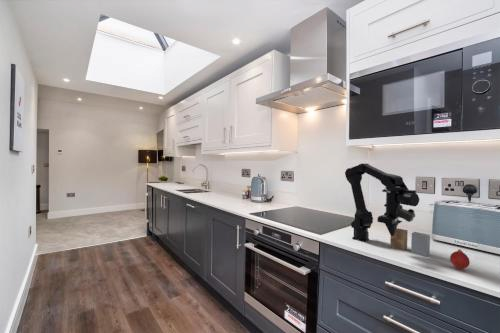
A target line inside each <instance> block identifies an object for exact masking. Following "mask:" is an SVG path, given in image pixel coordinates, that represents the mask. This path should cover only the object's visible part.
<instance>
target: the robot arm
mask: <svg viewBox="0 0 500 333" xmlns="http://www.w3.org/2000/svg"><path fill="white" fill-rule="evenodd" d="M344 174H345V178H346V181H347V182H348V183H349V184H350V187H351V191H352V196H353V197H352V198H353V200H354V204H355V213H354V220H353V221H351V222H350V226H351V228H353V237H351V239H353V240H356V241H360V242H366V241H369V240H370V238H369V230H368V229H370V228H371V227H372V224H373V222H374V221H373V220H374V217H373V213H372V211H369V210H368V209H367V206H366V201H365V197H364V193H363V189H362V188H363V187H362V185H361V182H362V179H363V175H365V174H367V175H369V176H370V177H373V178H375V179H376V180H378V181H380V183H381V185H383V186H384V187H385V188H384V189H382V190H381V192H383V193H385V203H384V205H383V206H384V207H385V212H384V213H383V214H382V215H379V216H377V220H376V221H377V223H382V224H384V225H385V226H386V228H387V231H388V232H389V235H390V237H391V236H394V234H395V231H396V228H398V225H399V224H401V223H402V222H403V220H405V222H412V221H413V220H414V218H416V213H415V210H414V209H412V208H409V209H404V208H403V205H404V206H410V207H417V206H418V205H419V203H420V197H419V195H418V193H417V190H414V189H409V188H408V187H407V185H406V183H405V182H404V179H403V177H402V176H401V175H396V174H392V173H388V172H385V171H383V170H381V169H378V168H377V167H374V166H372V165H370V163H359V164H358V165H355V166H352V167H349V168H347V169H346V170H345V172H344ZM399 218H400V219H403V220H400V219H399Z"/></svg>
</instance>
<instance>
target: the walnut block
mask: <svg viewBox="0 0 500 333" xmlns="http://www.w3.org/2000/svg"><path fill="white" fill-rule="evenodd" d="M408 233H409V232H408V230H407V229H403V228H398V227H397V228H396V231H395V234H394V236H391V235H390V240H389V241H390V245H389V246H390V248H393V249H397V250H400V251H407V249H408Z"/></svg>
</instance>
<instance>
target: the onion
mask: <svg viewBox="0 0 500 333" xmlns="http://www.w3.org/2000/svg"><path fill="white" fill-rule="evenodd" d="M449 260H450V263H451V265H453V266H454V268H456V269H457V270H459V271H462V270H464V269H466V268H468V267H469V266H470V264H471V263H470V262H471V261H470V258H469V256H468V255H467V254H465V252H463V251H462V249H457V250H456V251H454V252H452V253H451V254H450V256H449Z"/></svg>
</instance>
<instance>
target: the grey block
mask: <svg viewBox="0 0 500 333" xmlns="http://www.w3.org/2000/svg"><path fill="white" fill-rule="evenodd" d="M410 244H411V249H410V250H411V251H410V252H411V253H412V254H415V255H420V256H423V257H425V258H426V257H428V256H430V252H431V250H430V248H431V234H429V233H428V234H427V233H424V232H418V231H414V232H411V243H410Z"/></svg>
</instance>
